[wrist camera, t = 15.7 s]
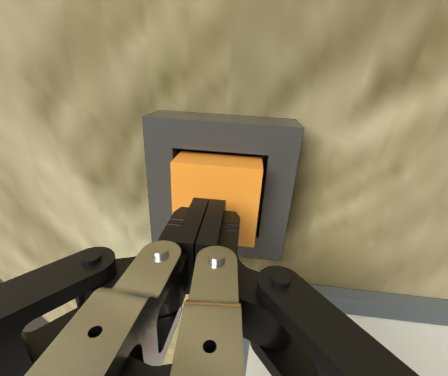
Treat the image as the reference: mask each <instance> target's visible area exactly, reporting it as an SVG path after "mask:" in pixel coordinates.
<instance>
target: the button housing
mask: <svg viewBox="0 0 448 376" xmlns="http://www.w3.org/2000/svg"><path fill="white" fill-rule="evenodd" d="M142 123H143V136H144V148H145V161H146V174H147V186H148V199H149V211H150V224H151V237H152V242H155V241H158V239H159V237H160V235H161V233H162V232H163V230H164V228H165V226H166V225H167V223H168V221H169V219H170V218H171V216H172V195H171V169H170V162H171V161H172V160H173V159H174V158H175V157H176V156H177V155H178V154H179V153H180V152H181V151H187V152H200V153H213V154H226V155H239V156H252V157H262V163H263V177H262V185H261V194H260V202H259V211H258V219H257V227H256V236H255V244H254V248H253V247H243V246H238V256H241V257H250V258H260V259H269V260H279V261H281V257H282V251H283V246H284V240H285V234H286V229H287V223H288V217H289V211H290V206H291V200H292V194H293V189H294V183H295V177H296V172H297V166H298V160H299V155H300V149H301V143H302V138H303V132H304V127H303V126H302V125H301V124H300V123H299V122H298V121H297V120H296V119H286V118H271V117H256V116H240V115H225V114H210V113H195V112H180V111H165V110H158V111H156V112H153V113H150V114H148V115H145V116H142Z"/></svg>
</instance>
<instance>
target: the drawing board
mask: <svg viewBox="0 0 448 376" xmlns="http://www.w3.org/2000/svg"><path fill="white" fill-rule="evenodd" d="M310 285H311V284H310ZM311 286H312V287H313V288H314V289H316V290H317V291H318V292H319V293H320V294H322V295H323V296H324V297H325V298H326V299H328V300H329V301H330V302H331V303H333V304H334V305H335V306H336V307H337V308H339V309H340V310H341V311H342V312H343V313H345V314H346V315H347V316H348V317H349V318H351V319H352V320H353V321H354V322H355V323H357V324H358V325H359V326H360V327H361V328H363V329H364V330H365V331H366V332H367V333H369V334H370V335H371V336H372V337H373V338H375V339H376V340H377V341H378V342H380V343H381V344H382V345H383V346H384V347H386V348H387V349H388V350H389V351H390V352H392V353H393V354H394V355H395V356H396V357H398V358H399V359H400V360H401V361H402V362H404V363H405V364H406V365H407V366H408V367H410V368H411V369H412V370H413V371H414V372H416V373H417V374H418V375H419V376H448V300H445V299H436V298H427V297H418V296H409V295H400V294H391V293H382V292H373V291H364V290H356V289H347V288H338V287H329V286H320V285H311ZM243 355H244V376H271V374H270V373H269V372H268V370H267V369H266V367H265V366H264V365H263V363H262V362H261V361H260V359H259V358H258V356H257V355H256V354H255V352H254V351H253V349H252V347H251V345H250V340H247V339H245V338H243Z"/></svg>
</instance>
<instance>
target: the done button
mask: <svg viewBox="0 0 448 376" xmlns="http://www.w3.org/2000/svg"><path fill="white" fill-rule="evenodd" d="M170 169H171V195H172V214H173V212H174V211H176V210H177V209H179V208H180V207H189V206H190V204H191V202H192V200H193V198H194V197H195V198H206V199H218V200H226V211H235V212H237V214H238V215H239V217H240V227H239V240H238V246H243V247H253V248H254V244H255V236H256V227H257V219H258V211H259V202H260V194H261V185H262V177H263V163H262V157H252V156H239V155H226V154H213V153H200V152H187V151H181V152H180V153H179V154H178V155H177V156H176V157H175V158H174V159H173V160H172V161H171V162H170Z"/></svg>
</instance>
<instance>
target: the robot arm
mask: <svg viewBox="0 0 448 376" xmlns="http://www.w3.org/2000/svg"><path fill="white" fill-rule="evenodd" d="M239 227H240V217H239V215H238V214H237V212H235V211H226V200H218V199H206V198H195V197H194V198H193V200H192V202H191V204H190V206H189V207H180V208H179V209H177V210H176V211H174V212H173V214H172V216H171V218H170V219H169V221H168V223H167V225H166V226H165V228H164V230H163V232H162V233H161V235H160V237H159V239H158V241H155V242H152V243H150V244H148V245H146V246H145V247H144V248H143V249H142V250H141V251H140V252H139V254H138V255H137V256H135V257H129V258H121V259H115V254H114V252H113V251H112V250H111V249H109V248H106V247H93V248H88V249H85V250H83V251H80V252H78V253H75V254H73V255H70V256H68V257H65V258H63V259H60V260H58V261H55V262H53V263H50V264H48V265H45V266H43V267H40V268H38V269H35V270H33V271H30V272H28V273H25V274H23V275H21V276H18V277H16V278H13V279H11V280H8V281H6V282H3V283H1V284H0V376H244V355H243V338H245V339H247V340H250V345H251V347H252V349H253V351H254V352H255V354H256V355H257V356H258V358H259V359H260V361H261V362H262V363H263V365H264V366H265V367H266V369H267V370H268V372H269V373H270V374H271V376H419V375H418V374H417V373H416V372H414V371H413V370H412V369H411V368H410V367H408V366H407V365H406V364H405V363H404V362H402V361H401V360H400V359H399V358H398V357H396V356H395V355H394V354H393V353H392V352H390V351H389V350H388V349H387V348H386V347H384V346H383V345H382V344H381V343H380V342H378V341H377V340H376V339H375V338H373V337H372V336H371V335H370V334H369V333H367V332H366V331H365V330H364V329H363V328H361V327H360V326H359V325H358V324H357V323H355V322H354V321H353V320H352V319H351V318H349V317H348V316H347V315H346V314H345V313H343V312H342V311H341V310H340V309H339V308H337V307H336V306H335V305H334V304H333V303H331V302H330V301H329V300H328V299H326V298H325V297H324V296H323V295H322V294H320V293H319V292H318V291H317V290H316V289H314V288H313V287H312V286H311V285H310V284H308V283H307V282H306V281H305V280H304V279H302V278H301V277H300V276H299V275H298V274H296V273H295V272H294V271H292V270H290V269H288V268H285V267H281V266H270V267H266V268H264V269H263V270H261V272H260V273H259V272H257V271H254V270H251V269H249V268H247V267H246V266H244V265H243V264H242V263H241V262H240V260H239V258H238V240H239ZM185 294H189V299H188V300H186V301H185V304H184V308H183V313H182V304H183V301H184V298H185ZM73 299H76V303H77V307H78V308H76V309H74V310H72V311H70V312H68V313H66V314H65V315H63V316H61V317H59V318H57V319H55V320H53V321H52V322H50V323H48V324H46V325H44V326H42V327H40V328H39V329H37V330H35V331H32V332H27V333H26V332H22V330H23V329H24V327H25V326H26V325H27V324H28V323H29V322H31V321H32V320H34V319H36V318H38V317H40V316H42V315H44V314H46V313H47V312H49V311H51V310H53V309H55V308H57V307H59V306H61V305H63V304H65V303H67V302H69V301H71V300H73ZM181 313H182V318H181V323H180V328H179V333H178V338H177V343H176V348H175V353H174V358H173V363H172V364H168V365H162V364H163V360H164V357H165V355H166V352H167V350H168V347H169V344H170V342H171V339H172V337H173V334H174V331H175V329H176V326H177V324H178V321H179V318H180V316H181Z"/></svg>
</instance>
